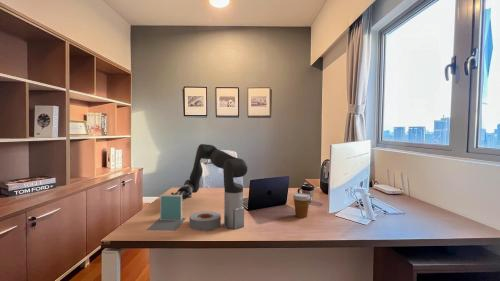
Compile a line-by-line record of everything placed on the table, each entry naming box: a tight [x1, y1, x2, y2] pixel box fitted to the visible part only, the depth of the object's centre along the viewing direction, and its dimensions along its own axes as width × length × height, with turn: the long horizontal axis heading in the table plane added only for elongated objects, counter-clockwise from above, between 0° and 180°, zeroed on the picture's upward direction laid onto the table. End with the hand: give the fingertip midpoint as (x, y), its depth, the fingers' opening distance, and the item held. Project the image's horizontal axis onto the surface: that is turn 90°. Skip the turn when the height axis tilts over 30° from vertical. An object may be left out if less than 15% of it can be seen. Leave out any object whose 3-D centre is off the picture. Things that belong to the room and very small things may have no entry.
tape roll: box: [188, 211, 222, 232], centre depth 129 cm, size 15×15×5 cm
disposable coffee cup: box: [292, 192, 311, 219], centre depth 145 cm, size 10×10×12 cm
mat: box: [146, 217, 187, 232], centre depth 130 cm, size 14×18×1 cm
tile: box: [159, 194, 183, 220], centre depth 135 cm, size 11×2×13 cm, turn 89°
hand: (176, 198), depth 146 cm, fingers closed
